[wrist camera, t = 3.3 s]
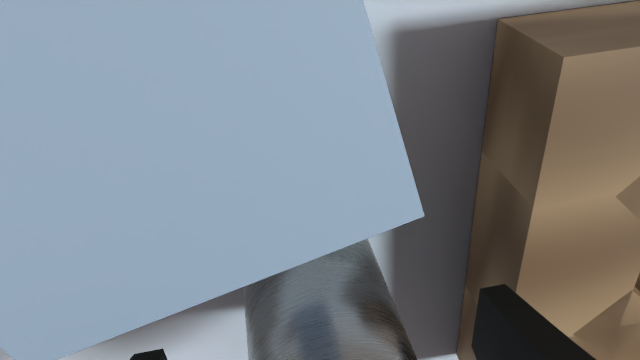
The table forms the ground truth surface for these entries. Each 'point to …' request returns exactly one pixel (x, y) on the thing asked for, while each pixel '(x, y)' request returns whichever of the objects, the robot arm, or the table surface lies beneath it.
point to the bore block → (563, 177)
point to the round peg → (326, 311)
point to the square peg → (181, 156)
